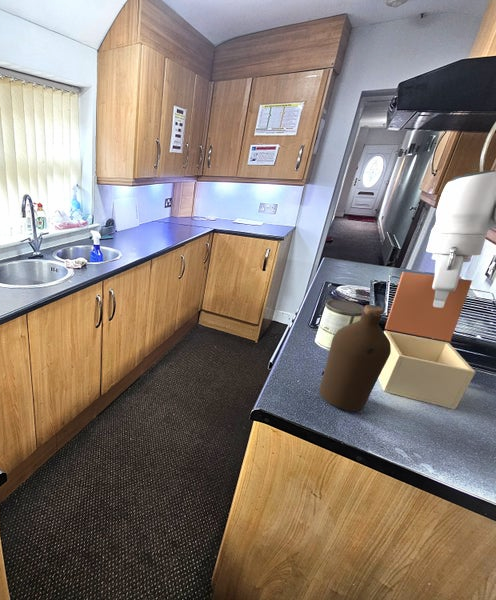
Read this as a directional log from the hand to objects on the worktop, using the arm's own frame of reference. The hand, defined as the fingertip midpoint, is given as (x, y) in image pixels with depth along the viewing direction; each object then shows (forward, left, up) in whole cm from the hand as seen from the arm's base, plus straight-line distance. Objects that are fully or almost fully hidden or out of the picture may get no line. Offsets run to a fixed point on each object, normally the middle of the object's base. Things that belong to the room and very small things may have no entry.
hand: (438, 303), depth 79 cm
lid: (-1, -9, -4) cm, 10 cm away
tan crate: (-1, 0, -23) cm, 23 cm away
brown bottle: (+16, +17, -23) cm, 33 cm away
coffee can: (+15, -14, -23) cm, 31 cm away
